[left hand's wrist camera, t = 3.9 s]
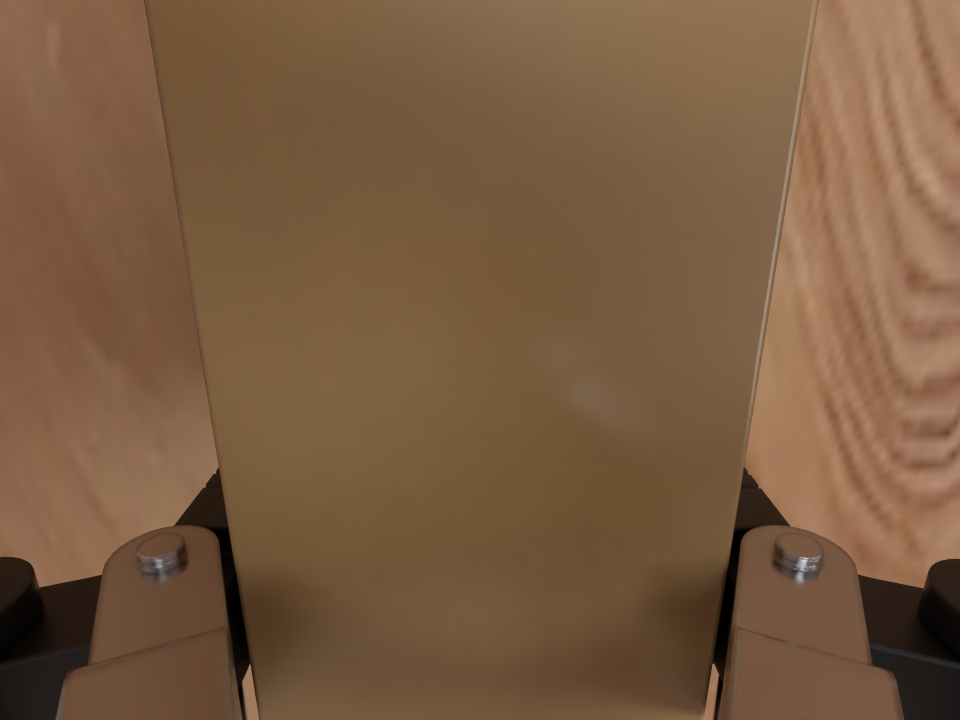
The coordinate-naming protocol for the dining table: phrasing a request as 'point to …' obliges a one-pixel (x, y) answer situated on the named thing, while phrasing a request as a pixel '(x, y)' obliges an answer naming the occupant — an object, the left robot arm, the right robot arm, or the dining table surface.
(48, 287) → the dining table surface
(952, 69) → the dining table surface
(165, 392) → the dining table surface
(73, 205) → the dining table surface
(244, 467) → the box
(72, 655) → the left robot arm
